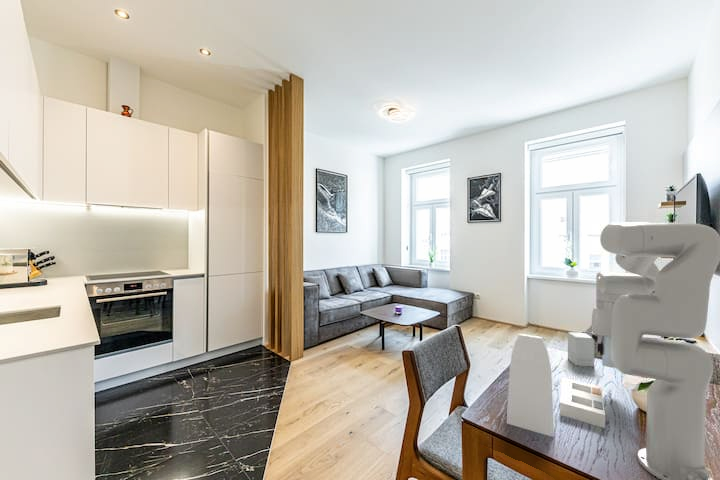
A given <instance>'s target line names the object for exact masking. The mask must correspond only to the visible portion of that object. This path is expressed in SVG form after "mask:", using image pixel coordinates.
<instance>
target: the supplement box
mask: <svg viewBox="0 0 720 480" xmlns="http://www.w3.org/2000/svg"><path fill="white" fill-rule="evenodd" d="M568 359H569V360H568ZM567 360H568V361H570V362H571V364H573V363H574V365H575V366H576V365H579V366H578V367H587V366H594V367H595V340H594V339H593V338H592V337H591V336H589V335H587V334H586V332H576V331H575V332H573V331H570V332H567Z"/></svg>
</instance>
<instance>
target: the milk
mask: <svg viewBox="0 0 720 480" xmlns="http://www.w3.org/2000/svg"><path fill="white" fill-rule="evenodd" d="M552 377H553V376H552V366H551V359H550V355H549V351H548V350H547V346H546V343H545V342H544V340H543V338H542V336H537V335H530V334H524V333H518V336H517V338H516V340H515V342H514V344H513V348H512V351H511V358H510V363H509V376H508V379H509V380H508V389H507V390H508V392H507V407H506V409H507V410H506V424H507V425H509V426H510V425H511V426H514V427H517V428H521V429H525V430H527V431H528V430H529V431H531V432H535V433H539V434H542V435H545V436H547V437H548V436H549V437H552V438H555V431H554V430H555V428H554V427H555V425H554V405H553V404H554V402H553V400H554V399H553V380H552V379H553V378H552Z"/></svg>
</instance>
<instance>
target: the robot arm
mask: <svg viewBox="0 0 720 480" xmlns="http://www.w3.org/2000/svg"><path fill="white" fill-rule="evenodd" d="M599 239H600V245H601V247H602V249H603V250H605V251H607V252H608V253H612V254H613V255H614V254H615V263H616V264H617V265H618V266H619V267H620V268H621V269H623V270H625V271H627V272H629V273H620V272H615V271H598V272H597V273H596V277H595V279H596V281H595V284H596V289H595V290H596V293H595V295H596V296H595V297H596V299H595V300H596V304H595V305H596V306H593V309H592V315H591V316H592V317H591V325H590V326H589V327H588V328H587V330H585V333H586V334H587V335H589V336H591V337H592V338H593V339H594V342H596V343H597V352H599V355H600V356H602V355H603V344H602V337H603V336H609V337H611V359H612V363H613V365H614V366H615V368H614V369H616V370H617V371H618V372H620V373H623V374H625V375H629V376H632V377H633V376H634V377H639V378H647V379H652V380H654V381H653V382H652V383H651V384H650V385H649V386H648V387H649V388H648V389H647V392H646V423H645V424H646V425H645V426H646V427H645V428H646V431H645V432H646V435H645V438H646V439H645V443H646V444H645V447H644V448H640V449H639V450H638V451H637V453H636V454H637V455H636V458H637V460H638V463H639V464H640V465H641V466H642V467H643V468H644V469H645V470H646V471H647V472H649V473H650V474H651V475H653V476H654V477H655V476H656V478H657V479H659V480H660V479H661V480H714V478H713V477H712V476H711V469H710V468H708V467H706V466H705V452H706V451H705V448H706V446H705V445H706V444H705V443H706V407H707V405H706V403H707V395H708V391H709V386H710V383H711V380H712V378H713V374H714V363H713V360H712V357H711V356H710V354H709V353H708V352H707V351H706V350H705V349H703V348H702V347H700V346H699V345H697V344H693V343H690V342H686V341H682V340H676V339H668V337H669V338H677V339H678V338H679V339H696V338H697V339H698V338H700V337H701V336H702V335H704V333H705V331H706V327H707V320H708V314H709V313H708V312H709V311H708V309H709V304H710V303H709V301H710V292H711V290H710V289H711V282H712V279H713V276H714V274H715V272H716V269H717V268H718V266H719V263H720V234H719V233H718V231H717V230H716V229H714V228H713V227H711V226H709V225H706V224H701V223H693V222H658V223H657V222H654V221H653V222H650V221H632V222H631V221H630V222H627V221H625V222H621V221H620V222H619V221H617V222H611V223H608V224H607V225H606V226H604V227H603V229H602V231H601V233H600V237H599ZM658 258H674V259H673V260H671V261H670V262H668V263H667V264H666V265H665V266H663V267H662V268H661V269H660V270H659V267H658V266H657V264H656V263H655V261H656V260H657V259H658ZM645 335H648V336H649V335H650V336H657V337H667V339H666V338H657V337H648V336H645ZM642 336H645V337H642Z"/></svg>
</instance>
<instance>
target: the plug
mask: <svg viewBox="0 0 720 480" xmlns="http://www.w3.org/2000/svg"><path fill="white" fill-rule="evenodd" d="M602 344H603V355H601V364H602V365H603V366H605V367H608V368H614V369H616V368H615V366H614V365H613V363H612V359H611V337H609V336H603V337H602Z"/></svg>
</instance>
